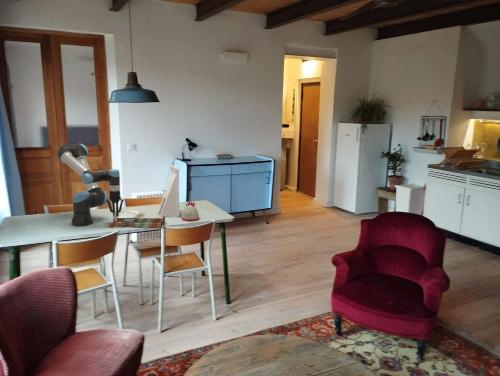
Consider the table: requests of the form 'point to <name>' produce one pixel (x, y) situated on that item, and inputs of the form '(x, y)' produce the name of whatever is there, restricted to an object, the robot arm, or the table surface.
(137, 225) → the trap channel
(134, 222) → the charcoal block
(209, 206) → the table surface
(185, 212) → the beige rounded dome
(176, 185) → the white bracket plate
